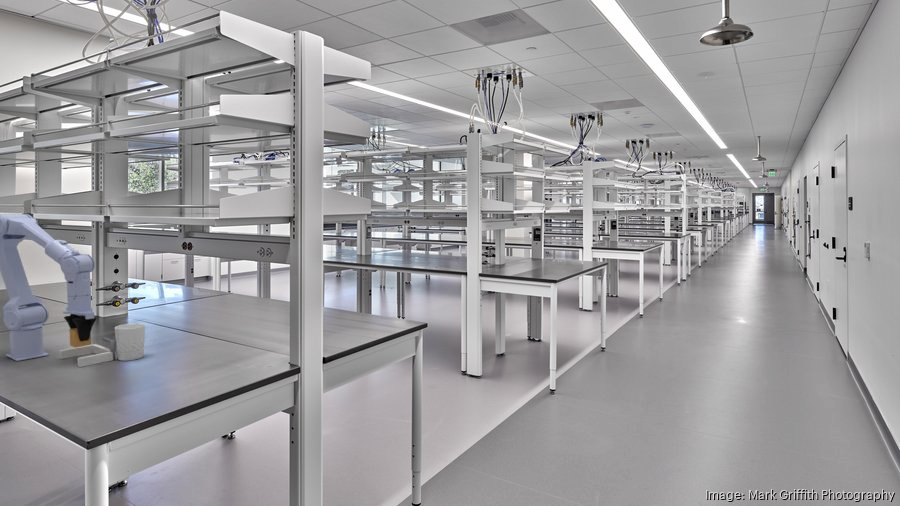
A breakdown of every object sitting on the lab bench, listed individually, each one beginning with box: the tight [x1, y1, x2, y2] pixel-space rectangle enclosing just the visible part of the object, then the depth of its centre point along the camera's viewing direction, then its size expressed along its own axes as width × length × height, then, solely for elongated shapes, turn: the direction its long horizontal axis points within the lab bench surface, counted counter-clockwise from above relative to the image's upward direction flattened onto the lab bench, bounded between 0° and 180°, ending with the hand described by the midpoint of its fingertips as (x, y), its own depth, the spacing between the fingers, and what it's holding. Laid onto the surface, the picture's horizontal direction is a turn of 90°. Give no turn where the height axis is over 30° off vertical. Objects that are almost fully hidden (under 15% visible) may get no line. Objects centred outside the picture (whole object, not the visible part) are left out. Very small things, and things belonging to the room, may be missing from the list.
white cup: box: [114, 322, 146, 362], centre depth 155 cm, size 8×8×10 cm
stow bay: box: [58, 336, 117, 368], centre depth 153 cm, size 14×10×6 cm
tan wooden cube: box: [69, 328, 92, 348], centre depth 152 cm, size 4×4×5 cm
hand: (81, 339), depth 152 cm, fingers closed on tan wooden cube, 4 cm apart
